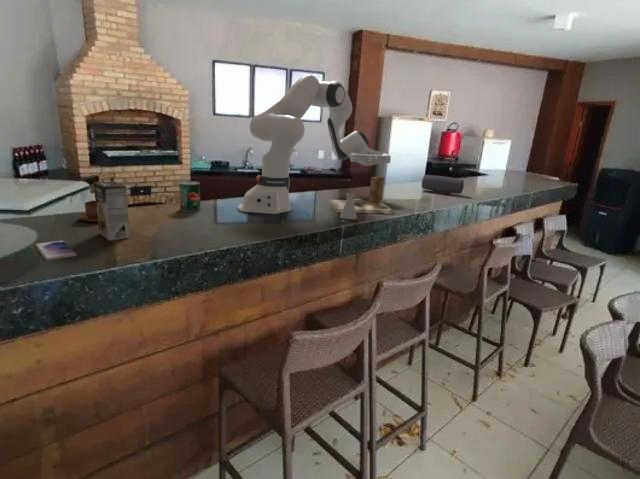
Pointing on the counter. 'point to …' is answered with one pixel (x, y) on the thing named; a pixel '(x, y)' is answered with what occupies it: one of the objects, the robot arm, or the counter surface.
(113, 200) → the coffee box
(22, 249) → the counter surface
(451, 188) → the bluetooth speaker
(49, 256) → the smartphone
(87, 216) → the cup and saucer
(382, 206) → the dial board
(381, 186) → the dial fin
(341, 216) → the flask
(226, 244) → the counter surface
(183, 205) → the canned tomato
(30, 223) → the counter surface
